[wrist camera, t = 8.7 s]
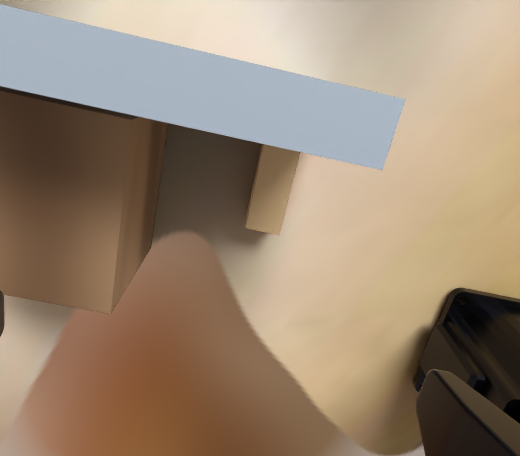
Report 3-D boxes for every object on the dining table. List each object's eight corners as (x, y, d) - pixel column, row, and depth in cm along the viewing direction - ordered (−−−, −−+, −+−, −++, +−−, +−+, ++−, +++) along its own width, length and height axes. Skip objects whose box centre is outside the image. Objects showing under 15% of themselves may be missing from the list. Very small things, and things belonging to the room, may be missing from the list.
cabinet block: (171, 104, 18) (131, 119, 13) (149, 254, 21) (109, 323, 15) (54, 78, 18) (-39, 82, 12) (48, 234, 20) (-32, 297, 15)
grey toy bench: (329, 83, 18) (405, 99, 9) (292, 222, 20) (320, 356, 11) (-112, -20, 16) (-599, -137, 7) (-98, 142, 19) (-453, 215, 9)
